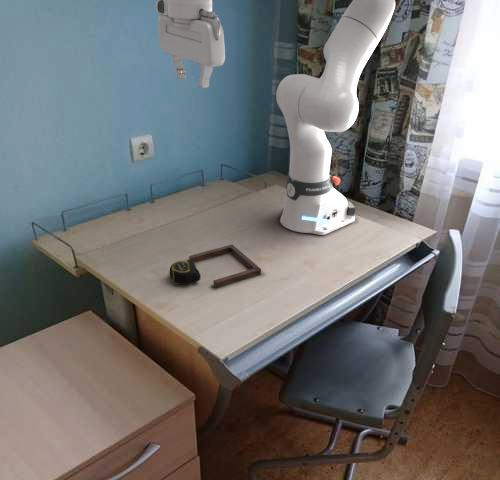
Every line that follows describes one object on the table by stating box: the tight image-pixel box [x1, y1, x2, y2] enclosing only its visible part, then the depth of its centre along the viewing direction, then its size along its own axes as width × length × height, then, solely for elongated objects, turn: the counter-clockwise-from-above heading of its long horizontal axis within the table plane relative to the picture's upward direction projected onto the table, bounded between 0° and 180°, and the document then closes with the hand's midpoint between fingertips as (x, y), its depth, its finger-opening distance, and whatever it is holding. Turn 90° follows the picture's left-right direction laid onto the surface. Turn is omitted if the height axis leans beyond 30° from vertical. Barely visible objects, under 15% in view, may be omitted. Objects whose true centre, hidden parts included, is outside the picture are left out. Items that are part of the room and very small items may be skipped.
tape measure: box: [169, 259, 201, 285], centre depth 123 cm, size 7×7×4 cm
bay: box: [188, 243, 262, 289], centre depth 129 cm, size 13×14×2 cm
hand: (191, 82), depth 109 cm, fingers open, 8 cm apart
